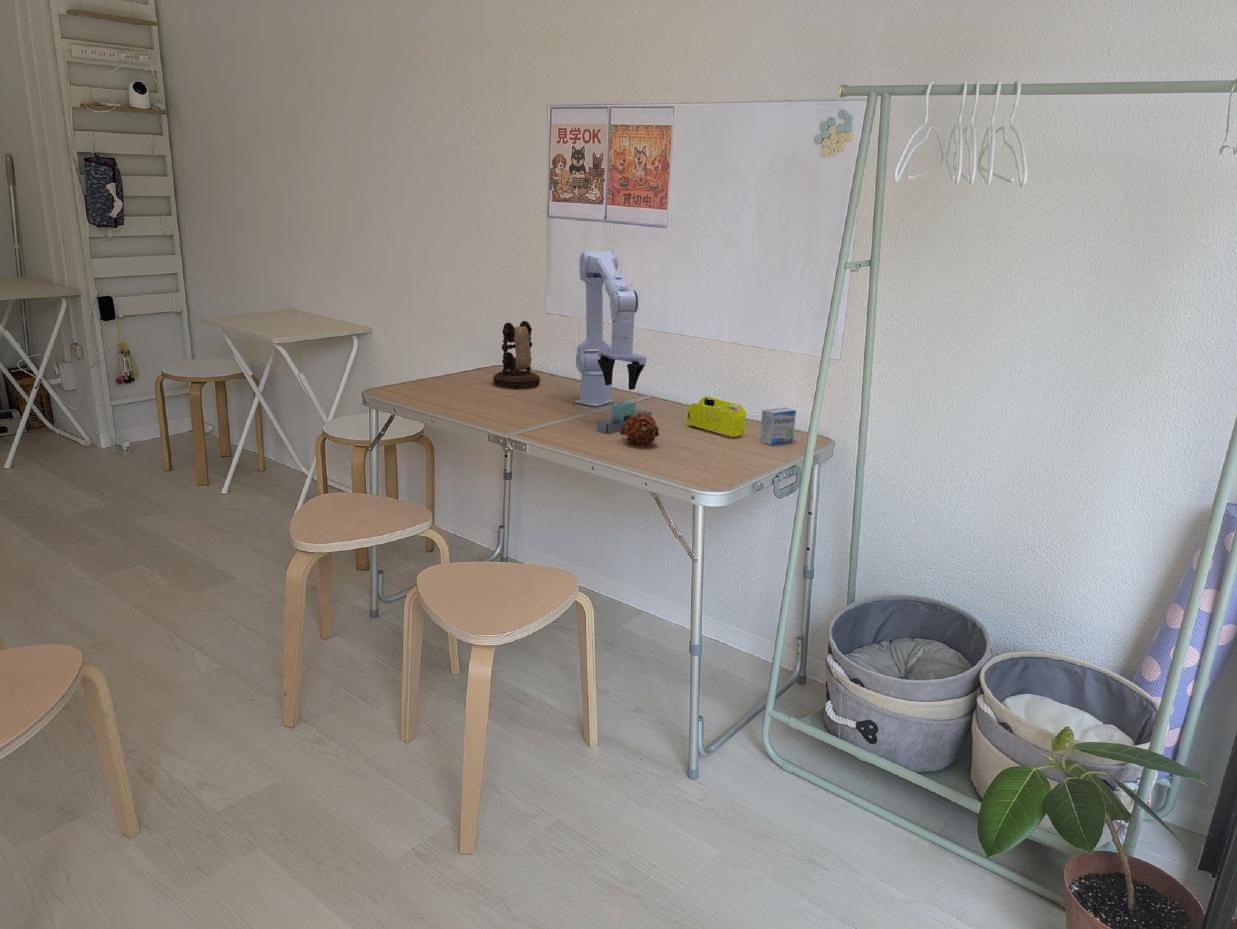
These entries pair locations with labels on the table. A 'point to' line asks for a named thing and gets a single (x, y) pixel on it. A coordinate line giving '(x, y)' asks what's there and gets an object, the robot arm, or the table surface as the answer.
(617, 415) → the clip
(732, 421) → the yellow toy chassis
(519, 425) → the table surface
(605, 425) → the rail
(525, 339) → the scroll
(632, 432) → the brown scaly rounded piece
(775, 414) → the medicine box
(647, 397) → the table surface
